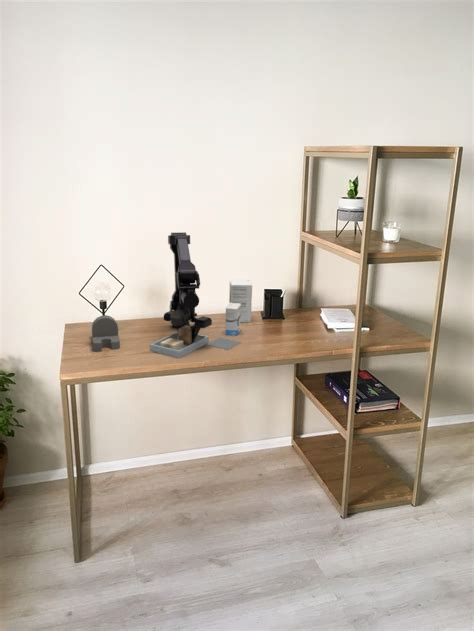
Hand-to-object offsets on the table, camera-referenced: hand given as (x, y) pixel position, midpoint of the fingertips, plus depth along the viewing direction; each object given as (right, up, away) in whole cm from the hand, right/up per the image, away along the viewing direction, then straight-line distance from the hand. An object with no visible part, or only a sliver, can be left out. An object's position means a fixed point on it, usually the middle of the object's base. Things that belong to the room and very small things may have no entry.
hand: (187, 340), depth 215 cm
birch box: (-5, -3, -8) cm, 10 cm away
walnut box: (0, -1, 0) cm, 1 cm away
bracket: (-31, -1, 0) cm, 31 cm away
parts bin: (-3, -3, -4) cm, 5 cm away
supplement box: (+20, +8, +33) cm, 39 cm away
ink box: (+17, +2, +14) cm, 23 cm away
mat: (+14, -2, +1) cm, 14 cm away
